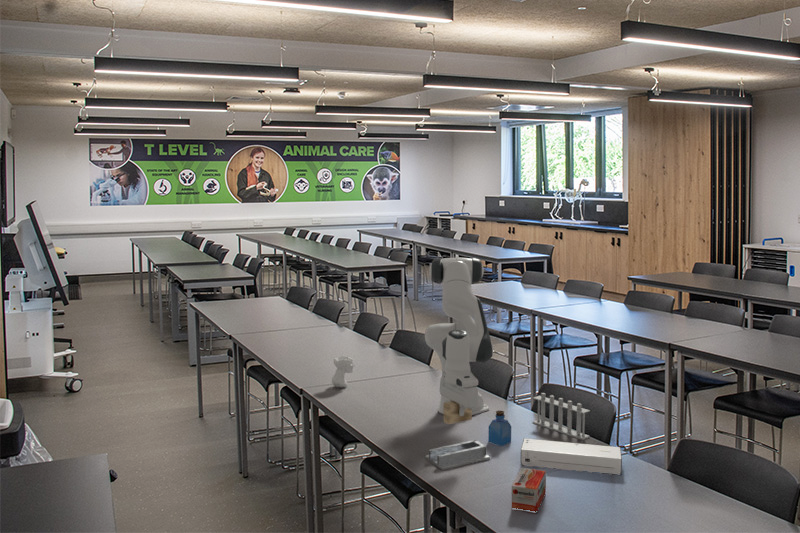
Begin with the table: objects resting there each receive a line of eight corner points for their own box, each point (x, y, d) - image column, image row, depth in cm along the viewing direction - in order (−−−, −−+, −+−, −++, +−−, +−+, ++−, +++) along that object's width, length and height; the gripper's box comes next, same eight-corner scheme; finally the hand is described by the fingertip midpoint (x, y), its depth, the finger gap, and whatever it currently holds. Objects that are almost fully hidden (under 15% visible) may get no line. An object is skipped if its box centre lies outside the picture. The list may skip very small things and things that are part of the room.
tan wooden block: (467, 417, 250) (467, 398, 249) (471, 419, 247) (471, 400, 246) (443, 421, 245) (443, 402, 244) (447, 424, 242) (448, 405, 242)
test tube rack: (589, 437, 268) (590, 404, 266) (582, 440, 265) (583, 407, 263) (539, 420, 287) (539, 390, 285) (532, 423, 284) (532, 392, 282)
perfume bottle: (498, 437, 268) (498, 408, 266) (511, 441, 264) (511, 411, 262) (488, 441, 264) (488, 411, 262) (501, 446, 259) (501, 415, 258)
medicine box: (521, 489, 223) (521, 466, 222) (546, 493, 220) (546, 470, 219) (510, 510, 209) (511, 485, 208) (537, 515, 206) (537, 489, 205)
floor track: (471, 448, 258) (471, 437, 257) (490, 459, 247) (490, 448, 247) (425, 458, 248) (425, 447, 248) (442, 470, 238) (442, 459, 237)
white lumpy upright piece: (331, 385, 340) (331, 355, 338) (354, 384, 341) (353, 354, 339) (331, 390, 330) (331, 360, 328) (355, 389, 331) (354, 359, 330)
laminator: (620, 463, 243) (620, 446, 243) (621, 477, 232) (622, 460, 231) (523, 454, 252) (523, 438, 252) (520, 467, 241) (520, 450, 240)
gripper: (435, 370, 252) (435, 406, 253) (465, 384, 234) (465, 423, 235) (450, 368, 255) (449, 404, 256) (481, 381, 237) (480, 420, 238)
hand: (457, 413), depth 246 cm, fingers closed on tan wooden block, 3 cm apart
